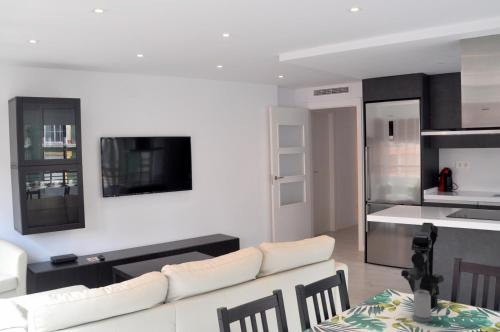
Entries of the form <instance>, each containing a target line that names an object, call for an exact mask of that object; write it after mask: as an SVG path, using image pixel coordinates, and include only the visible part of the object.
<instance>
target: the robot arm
mask: <svg viewBox="0 0 500 332" xmlns="http://www.w3.org/2000/svg"><path fill="white" fill-rule="evenodd" d="M439 238H440V230H439V228H438V227H437V226H436V225H434V223H433V222H426V221H425V222H422V225H421V227H420V231H419V232H415V233H414V236H412V241H411V251H414V253H413V254H412V255H411V258H410V259H411V262H412V264H413V268H406V269H405V268H404V269H402V270H401V271H400V277H403V279H405V280H406V281H407V282H408V284H409V287H410V289H411V292H412V293H413V292H414V293H415V290H416V289H415V287H416V281H419V290H426V291H428V292H429V294H430V296H431V308H432V309H433V308H435V307H437V306H439V303H438V296H439V295H440V294H441V293H440V291H441V290H440V286H439V284H441V283H443V282H444V280H445V279H444V276H443V275H442V274H437V273H435V274H434V272H435V271H434V270H435V269H434V267H435V266H434V265H435V264H434V263H435V246H436V244H437V242H438V239H439Z"/></svg>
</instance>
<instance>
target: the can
mask: <svg viewBox="0 0 500 332" xmlns="http://www.w3.org/2000/svg"><path fill="white" fill-rule="evenodd" d="M431 311H432V309H431V296H430V294H429V292H428V291H426V290H420V289H415V290H414V293H413V314H414V315H415V316H416V317H418V318H422V319H426V318H429V317H430V316H432V312H431Z"/></svg>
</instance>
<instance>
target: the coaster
mask: <svg viewBox="0 0 500 332" xmlns="http://www.w3.org/2000/svg"><path fill="white" fill-rule="evenodd" d="M411 317H412V320H413V321H415V322H417V321H418V323H426V324H427V323H432V322H433V320H434V319H433V318H434V317H433V316H432V315H431V316H430V317H429V318H426V319H422V318H418V317H416V316H415V315H414V313H413V314H412V316H411Z"/></svg>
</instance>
